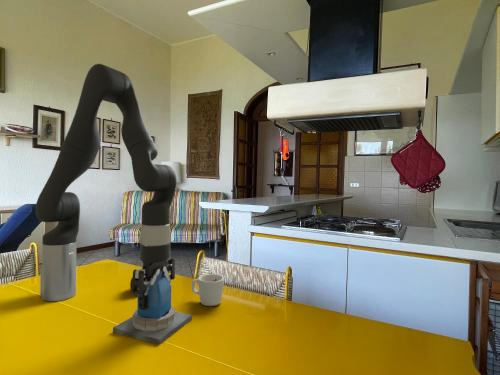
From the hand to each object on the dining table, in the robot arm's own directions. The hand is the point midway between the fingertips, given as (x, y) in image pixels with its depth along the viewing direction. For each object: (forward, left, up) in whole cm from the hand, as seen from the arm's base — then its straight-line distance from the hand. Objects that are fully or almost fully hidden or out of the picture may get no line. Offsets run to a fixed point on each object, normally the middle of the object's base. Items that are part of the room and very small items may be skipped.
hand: (154, 303), depth 81 cm
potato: (-20, +18, -6) cm, 28 cm away
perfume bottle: (0, 0, -3) cm, 3 cm away
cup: (+5, +19, -6) cm, 21 cm away
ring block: (0, 0, -6) cm, 6 cm away
